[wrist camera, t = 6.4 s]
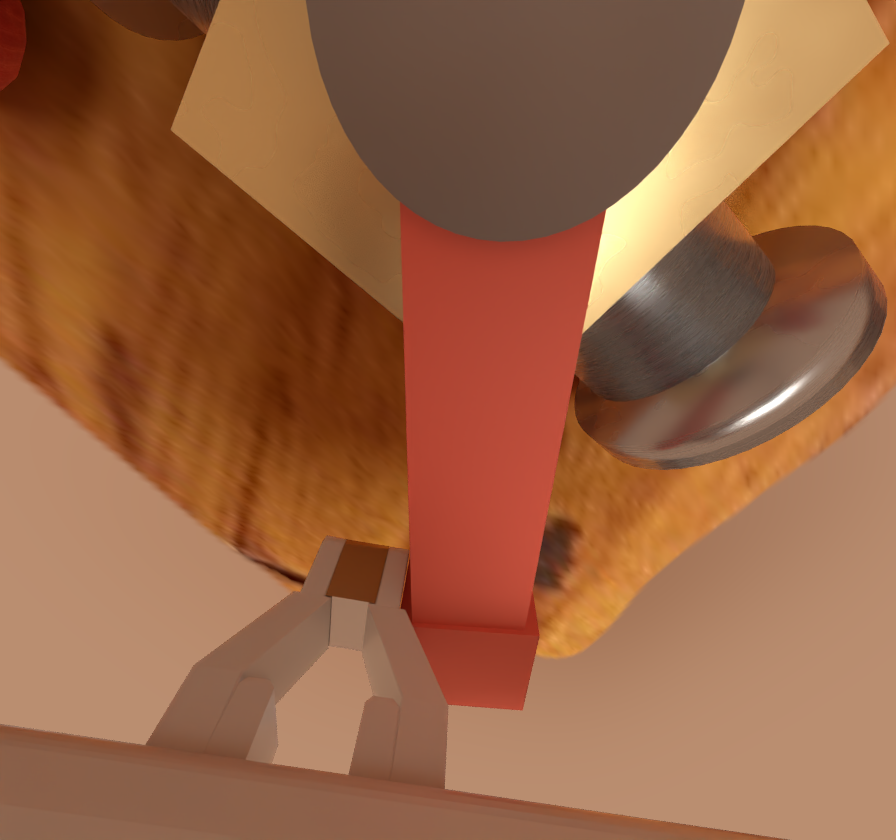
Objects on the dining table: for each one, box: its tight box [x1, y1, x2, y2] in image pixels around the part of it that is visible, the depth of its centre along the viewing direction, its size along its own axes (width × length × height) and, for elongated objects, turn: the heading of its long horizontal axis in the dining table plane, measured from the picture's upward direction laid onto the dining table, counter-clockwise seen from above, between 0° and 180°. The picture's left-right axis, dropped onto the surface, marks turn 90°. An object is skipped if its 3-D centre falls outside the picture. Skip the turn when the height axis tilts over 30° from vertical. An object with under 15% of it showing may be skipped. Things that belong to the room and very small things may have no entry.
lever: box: [306, 0, 745, 710], centre depth 7 cm, size 14×4×2 cm, turn 179°
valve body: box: [90, 0, 889, 470], centre depth 9 cm, size 18×8×9 cm, turn 50°
